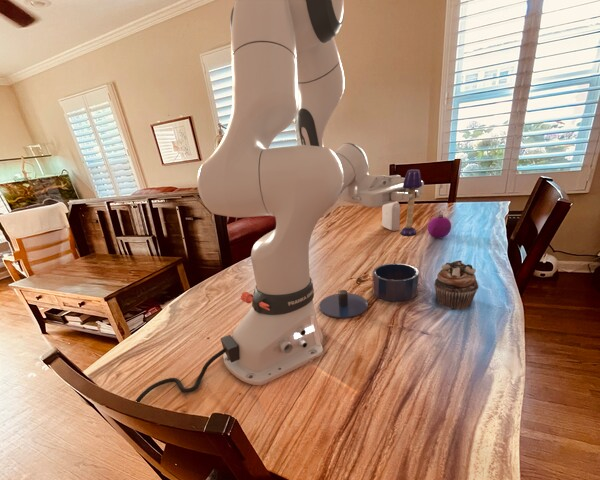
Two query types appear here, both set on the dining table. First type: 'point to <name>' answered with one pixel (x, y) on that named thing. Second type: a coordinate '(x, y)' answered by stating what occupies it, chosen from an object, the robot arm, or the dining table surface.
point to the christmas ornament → (439, 226)
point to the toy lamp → (411, 183)
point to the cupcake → (456, 285)
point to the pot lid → (343, 305)
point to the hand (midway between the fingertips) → (414, 195)
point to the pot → (395, 282)
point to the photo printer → (391, 216)
